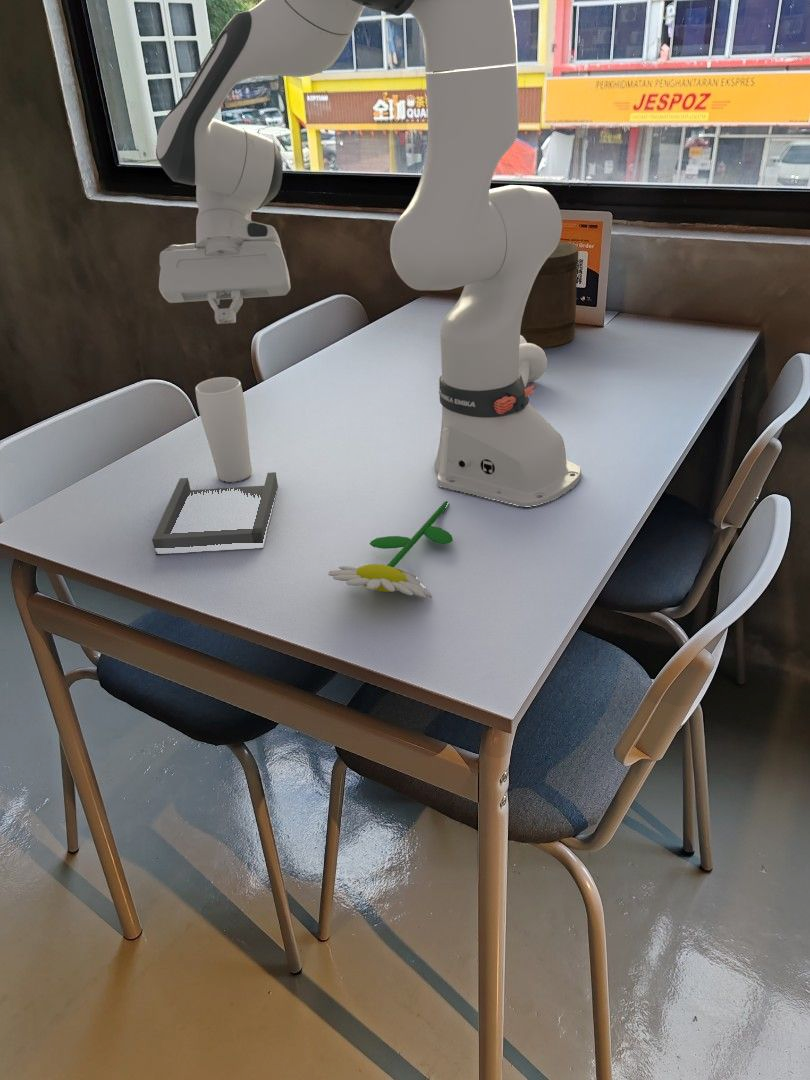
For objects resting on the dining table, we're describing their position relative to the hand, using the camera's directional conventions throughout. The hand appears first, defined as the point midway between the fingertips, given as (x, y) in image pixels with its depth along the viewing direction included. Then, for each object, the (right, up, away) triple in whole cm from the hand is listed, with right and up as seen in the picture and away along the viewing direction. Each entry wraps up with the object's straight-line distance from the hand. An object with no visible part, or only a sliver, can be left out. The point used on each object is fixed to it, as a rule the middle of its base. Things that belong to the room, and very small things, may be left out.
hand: (225, 321), depth 128 cm
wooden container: (+56, +9, +47) cm, 74 cm away
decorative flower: (+29, -37, -22) cm, 52 cm away
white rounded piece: (+48, -6, +24) cm, 54 cm away
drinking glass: (+1, -24, 0) cm, 24 cm away
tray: (+2, -31, -11) cm, 33 cm away
